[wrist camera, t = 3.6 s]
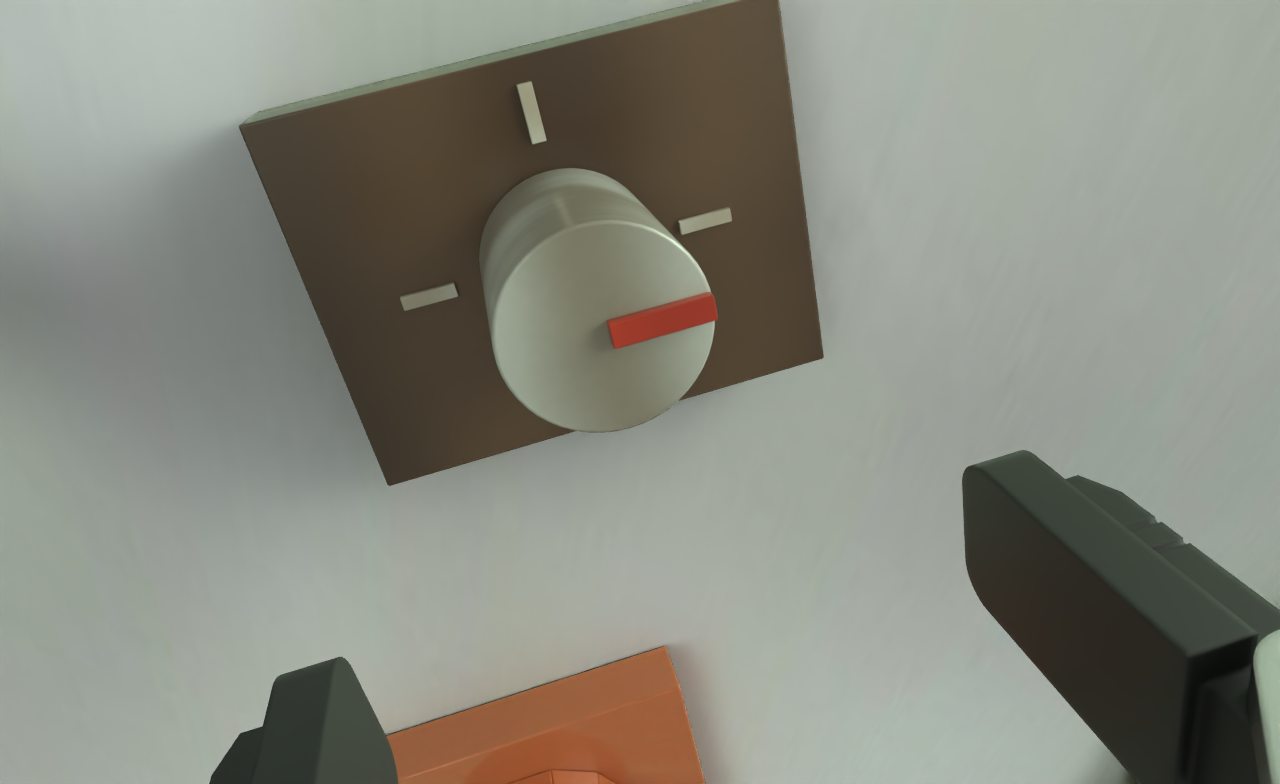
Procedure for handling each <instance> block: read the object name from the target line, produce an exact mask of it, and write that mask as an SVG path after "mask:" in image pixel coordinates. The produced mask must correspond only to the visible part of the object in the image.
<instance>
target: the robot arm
mask: <svg viewBox="0 0 1280 784" xmlns="http://www.w3.org/2000/svg"><path fill="white" fill-rule="evenodd" d="M962 489H963V512H964V536H965V558H966V566H967V570H968V574H969V577H970V580H971V583H972V585H973V588H974V590H975V592H976V594H977V596H978V597H979V599H980V601H981V602H982V604H983V605H984V606H985V608H986V609H987V610H988V611H989V612H990V614H991V615H992V616H993V617H994V618H995V619H996V621H997V622H998V623H999V624H1000V625H1001V626H1002V627H1003V629H1004V630H1005V631H1006V632H1007V633H1008V634H1009V635H1010V637H1011V638H1012V639H1013V640H1014V641H1015V642H1016V644H1017V645H1018V646H1019V647H1020V648H1021V649H1022V650H1023V652H1024V653H1025V654H1026V655H1027V656H1028V657H1029V658H1030V660H1031V661H1032V662H1033V663H1034V664H1035V665H1036V666H1037V668H1038V669H1039V670H1040V671H1041V672H1042V673H1043V675H1044V676H1045V677H1046V678H1047V679H1048V680H1049V681H1050V683H1051V684H1052V685H1053V686H1054V687H1055V688H1056V689H1057V691H1058V692H1059V693H1060V694H1061V695H1062V696H1063V698H1064V699H1065V700H1066V701H1067V702H1068V703H1069V704H1070V706H1071V707H1072V708H1073V709H1074V710H1075V711H1076V712H1077V714H1078V715H1079V716H1080V717H1081V718H1082V719H1083V721H1084V722H1085V723H1086V724H1087V725H1088V726H1089V727H1090V729H1091V730H1092V731H1093V732H1094V733H1095V734H1096V735H1097V737H1098V738H1099V739H1100V740H1101V741H1102V742H1103V743H1104V745H1105V746H1106V747H1107V748H1108V749H1109V750H1110V752H1111V753H1112V754H1113V755H1114V756H1115V757H1116V758H1117V760H1118V761H1119V762H1120V763H1121V764H1122V765H1123V766H1124V768H1125V769H1126V770H1127V771H1128V772H1129V773H1130V775H1131V776H1132V777H1133V778H1134V779H1135V780H1136V781H1137V783H1138V784H1280V610H1278V609H1277V608H1276V607H1274V606H1273V605H1272V604H1270V603H1269V602H1268V601H1266V600H1265V599H1264V598H1262V597H1261V596H1260V595H1258V594H1257V593H1256V592H1254V591H1253V590H1252V589H1250V588H1249V587H1248V586H1246V585H1245V584H1244V583H1242V582H1241V581H1240V580H1238V579H1237V578H1236V577H1234V576H1233V575H1232V574H1230V573H1229V572H1228V571H1226V570H1225V569H1224V568H1222V567H1221V566H1220V565H1218V564H1217V563H1216V562H1214V561H1213V560H1212V559H1210V558H1209V557H1208V556H1206V555H1205V554H1204V553H1202V552H1201V551H1200V550H1198V549H1197V548H1196V547H1194V546H1193V545H1192V544H1190V543H1189V544H1185V543H1184V541H1183V538H1182V537H1181V536H1180V535H1178V534H1177V533H1176V532H1174V531H1173V530H1172V529H1170V528H1169V527H1168V526H1166V525H1165V524H1164V523H1162V522H1160V523H1157V522H1156V520H1155V517H1154V516H1153V515H1152V514H1150V513H1149V512H1148V511H1146V510H1145V509H1144V508H1142V507H1141V506H1140V505H1138V504H1137V503H1135V502H1134V501H1133V500H1131V499H1130V498H1129V497H1127V496H1126V495H1125V494H1123V493H1122V492H1120V491H1118V490H1115V489H1112V488H1110V487H1107V486H1105V485H1102V484H1099V483H1097V482H1094V481H1092V480H1089V479H1086V478H1084V477H1081V476H1079V475H1077V476H1074V477H1071V478H1068V479H1064V478H1063V477H1062V476H1061V475H1059V474H1058V473H1057V472H1055V471H1054V470H1053V469H1052V468H1050V467H1049V466H1048V465H1047V464H1045V463H1044V462H1043V461H1042V460H1040V459H1039V458H1038V457H1037V456H1035V455H1034V454H1032V453H1031V452H1029V451H1025V450H1021V451H1017V452H1014V453H1011V454H1008V455H1004V456H1001V457H998V458H994V459H991V460H988V461H985V462H981V463H978V464H975V465H972V466H969V467H967V468H966V469H965V471H964V473H963V478H962ZM209 784H398V776H397V769H396V764H395V760H394V756H393V752H392V749H391V746H390V744H389V741H388V739H387V737H386V735H385V733H384V731H383V729H382V727H381V725H380V723H379V721H378V719H377V717H376V715H375V713H374V711H373V709H372V707H371V705H370V703H369V701H368V699H367V697H366V695H365V693H364V691H363V689H362V687H361V685H360V683H359V681H358V679H357V677H356V675H355V673H354V671H353V669H352V667H351V665H350V664H349V663H348V661H347V660H346V659H345V658H343V657H338V658H334V659H331V660H328V661H325V662H321V663H318V664H315V665H311V666H308V667H305V668H302V669H298V670H295V671H292V672H289V673H285V674H282V675H280V676H278V677H277V678H276V679H275V681H274V683H273V687H272V690H271V695H270V699H269V703H268V707H267V711H266V715H265V719H264V724H263V727H259V728H256V729H253V730H250V731H247V732H243V733H240V735H239V736H238V738H237V739H236V740H235V742H234V743H233V745H232V746H231V748H230V749H229V751H228V752H227V754H226V755H225V757H224V758H223V760H222V761H221V763H220V764H219V766H218V767H217V768H216V770H215V771H214V773H213V774H212V776H211V780H210V783H209Z"/></svg>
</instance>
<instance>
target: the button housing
mask: <svg viewBox="0 0 1280 784" xmlns="http://www.w3.org/2000/svg"><path fill="white" fill-rule="evenodd" d="M386 737H387V739H388V741H389V744H390V746H391V749H392V752H393V756H394V760H395V764H396V769H397V776H398V784H706V782H705V779H704V775H703V771H702V767H701V763H700V759H699V756H698V752H697V748H696V744H695V740H694V737H693V733H692V729H691V725H690V721H689V717H688V714H687V710H686V706H685V702H684V698H683V695H682V691H681V687H680V684H679V681H678V678H677V676H676V673H675V670H674V667H673V664H672V661H671V658H670V656H669V653H668V650H667V648H666V647H665V646H663V647H660V648H657V649H654V650H651V651H648V652H644V653H641V654H638V655H635V656H632V657H629V658H626V659H623V660H620V661H617V662H613V663H610V664H607V665H604V666H601V667H598V668H595V669H592V670H589V671H586V672H582V673H579V674H576V675H573V676H570V677H567V678H564V679H561V680H558V681H555V682H551V683H548V684H545V685H542V686H539V687H536V688H533V689H530V690H527V691H524V692H521V693H517V694H514V695H511V696H508V697H505V698H502V699H499V700H496V701H493V702H490V703H486V704H483V705H480V706H477V707H474V708H471V709H468V710H465V711H462V712H459V713H455V714H452V715H449V716H446V717H443V718H440V719H437V720H434V721H431V722H428V723H424V724H421V725H418V726H415V727H412V728H409V729H406V730H403V731H400V732H397V733H393V734H390V735H387V736H386Z"/></svg>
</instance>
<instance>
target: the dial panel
mask: <svg viewBox="0 0 1280 784" xmlns="http://www.w3.org/2000/svg"><path fill="white" fill-rule="evenodd" d="M239 129H240V131H241V134H242V136H243V139H244V141H245V143H246V146H247V148H248V151H249V153H250V155H251V158H252V160H253V163H254V165H255V167H256V170H257V172H258V175H259V177H260V179H261V182H262V184H263V187H264V189H265V191H266V194H267V196H268V199H269V201H270V203H271V206H272V208H273V211H274V213H275V215H276V218H277V220H278V223H279V225H280V227H281V230H282V232H283V235H284V237H285V239H286V242H287V244H288V247H289V249H290V251H291V254H292V256H293V259H294V261H295V263H296V266H297V268H298V271H299V273H300V275H301V278H302V280H303V283H304V285H305V287H306V290H307V292H308V295H309V297H310V299H311V302H312V304H313V307H314V309H315V312H316V314H317V316H318V319H319V321H320V324H321V326H322V328H323V331H324V333H325V336H326V338H327V340H328V343H329V345H330V348H331V350H332V352H333V355H334V357H335V360H336V362H337V364H338V367H339V369H340V372H341V374H342V376H343V379H344V381H345V384H346V386H347V388H348V391H349V393H350V396H351V398H352V400H353V403H354V405H355V408H356V410H357V412H358V415H359V417H360V420H361V422H362V424H363V427H364V429H365V432H366V434H367V436H368V439H369V441H370V444H371V446H372V448H373V451H374V453H375V456H376V458H377V460H378V463H379V465H380V468H381V470H382V472H383V475H384V477H385V480H386V482H387V484H388V485H389V486H391V485H394V484H398V483H401V482H404V481H408V480H411V479H415V478H418V477H421V476H425V475H428V474H432V473H435V472H438V471H442V470H445V469H449V468H452V467H455V466H459V465H462V464H466V463H469V462H472V461H476V460H479V459H482V458H486V457H489V456H493V455H496V454H499V453H503V452H506V451H510V450H513V449H516V448H520V447H523V446H527V445H530V444H533V443H537V442H540V441H544V440H547V439H550V438H554V437H557V436H561V435H564V434H567V433H571V432H574V431H575V430H571V429H567V428H563V427H560V426H558V425H555V424H552V423H550V422H548V421H546V420H544V419H542V418H541V417H539V416H537V415H536V414H534V413H533V412H531V411H530V410H529V409H527V408H526V407H525V406H524V405H523V404H522V403H521V402H520V401H519V400H518V399H517V398H516V397H515V396H514V394H513V393H512V392H511V391H510V389H509V388H508V386H507V385H506V383H505V381H504V380H503V378H502V376H501V374H500V371H499V369H498V366H497V364H496V360H495V356H494V352H493V348H492V341H491V335H490V329H489V322H488V316H487V310H486V304H485V297H484V291H483V285H482V279H481V272H480V263H479V252H480V243H481V238H482V234H483V231H484V228H485V225H486V223H487V221H488V219H489V217H490V214H491V213H492V211H493V210H494V208H495V207H496V205H497V204H498V203H499V202H500V200H501V199H502V198H503V197H504V196H505V195H506V194H507V193H508V192H509V191H510V190H512V189H513V188H514V187H515V186H517V185H518V184H520V183H521V182H523V181H524V180H526V179H528V178H530V177H532V176H534V175H537V174H540V173H543V172H546V171H550V170H555V169H564V168H577V169H585V170H590V171H595V172H598V173H600V174H603V175H606V176H608V177H610V178H612V179H614V180H615V181H617V182H618V183H620V184H621V185H623V186H624V187H626V188H627V189H628V190H629V191H630V192H631V193H632V194H633V195H634V196H635V197H636V198H637V199H638V200H639V201H640V202H641V203H642V204H643V205H644V206H645V207H646V208H647V209H648V210H649V212H650V213H651V214H652V215H653V216H654V217H655V218H656V219H657V220H658V221H659V222H660V223H661V224H662V225H663V226H664V227H665V228H666V229H667V230H668V231H669V232H670V233H671V234H672V236H673V237H674V238H675V239H676V240H677V241H678V242H679V243H680V244H681V245H682V246H683V247H684V248H685V249H686V250H687V251H688V252H689V253H690V255H691V256H692V257H693V258H694V260H695V261H696V262H697V263H698V265H699V267H700V268H701V270H702V272H703V273H704V275H705V277H706V280H707V282H708V285H709V287H710V291H711V293H712V294H713V296H714V299H715V305H716V310H717V316H718V320H716V321H715V327H714V335H713V341H712V345H711V348H710V352H709V355H708V357H707V360H706V362H705V364H704V367H703V369H702V371H701V372H700V374H699V376H698V377H697V379H696V381H695V382H694V383H693V384H692V386H691V387H690V388H689V390H688V391H687V392H686V393H685V394H684V395H683V396H682V397H681V398H680V399H679V400H683V399H686V398H690V397H693V396H696V395H700V394H703V393H707V392H710V391H713V390H717V389H720V388H724V387H727V386H730V385H734V384H737V383H740V382H744V381H747V380H751V379H754V378H757V377H761V376H764V375H768V374H771V373H774V372H778V371H781V370H785V369H788V368H791V367H795V366H798V365H802V364H805V363H808V362H812V361H815V360H819V359H822V358H823V357H824V356H823V348H822V340H821V332H820V324H819V316H818V308H817V300H816V292H815V284H814V276H813V268H812V260H811V252H810V244H809V236H808V228H807V220H806V212H805V204H804V196H803V188H802V180H801V172H800V164H799V156H798V148H797V140H796V132H795V124H794V116H793V108H792V100H791V92H790V84H789V76H788V68H787V59H786V51H785V43H784V35H783V27H782V19H781V11H780V3H779V0H706V1H702V2H698V3H694V4H690V5H686V6H682V7H678V8H674V9H670V10H666V11H662V12H658V13H653V14H649V15H645V16H641V17H637V18H633V19H629V20H625V21H621V22H617V23H613V24H609V25H605V26H601V27H597V28H593V29H589V30H585V31H581V32H577V33H573V34H569V35H565V36H561V37H557V38H553V39H549V40H545V41H541V42H537V43H533V44H529V45H525V46H521V47H517V48H513V49H509V50H505V51H501V52H497V53H492V54H488V55H484V56H480V57H476V58H472V59H468V60H464V61H460V62H456V63H452V64H448V65H444V66H440V67H436V68H432V69H428V70H424V71H420V72H416V73H412V74H408V75H404V76H400V77H396V78H392V79H388V80H384V81H380V82H376V83H372V84H368V85H364V86H360V87H356V88H352V89H348V90H344V91H340V92H336V93H331V94H327V95H323V96H319V97H315V98H311V99H307V100H303V101H299V102H295V103H291V104H287V105H283V106H279V107H275V108H271V109H267V110H263V111H259V112H258V113H257V114H255V115H254V116H252V117H251V118H249V119H248V120H247V121H245V122H244V123H242V124H241V125H240V126H239ZM679 400H678V401H679Z"/></svg>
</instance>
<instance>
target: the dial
mask: <svg viewBox="0 0 1280 784" xmlns="http://www.w3.org/2000/svg"><path fill="white" fill-rule="evenodd" d="M479 263H480V272H481V279H482V285H483V291H484V297H485V304H486V310H487V316H488V322H489V329H490V335H491V341H492V348H493V352H494V356H495V360H496V364H497V366H498V369H499V371H500V374H501V376H502V378H503V380H504V381H505V383H506V385H507V386H508V388H509V389H510V391H511V392H512V393H513V394H514V396H515V397H516V398H517V399H518V400H519V401H520V402H521V403H522V404H523V405H524V406H525V407H526V408H527V409H529V410H530V411H531V412H533V413H534V414H536V415H537V416H539V417H541V418H542V419H544V420H546V421H548V422H550V423H552V424H555V425H558V426H560V427H563V428H567V429H571V430H575V431H582V432H612V431H619V430H623V429H627V428H631V427H634V426H637V425H639V424H642V423H645V422H647V421H649V420H651V419H653V418H655V417H657V416H658V415H660V414H661V413H663V412H664V411H666V410H667V409H669V408H670V407H671V406H672V405H673V404H675V403H676V402H677V401H678V400H679V399H680V398H681V397H682V396H683V395H684V394H685V393H686V392H687V391H688V390H689V388H690V387H691V386H692V384H693V383H694V382H695V381H696V379H697V377H698V376H699V374H700V372H701V371H702V369H703V367H704V364H705V362H706V360H707V357H708V355H709V352H710V348H711V345H712V341H713V335H714V327H715V321H716V320H718V316H717V310H716V305H715V299H714V296H713V294H712V293H711V291H710V287H709V285H708V282H707V280H706V277H705V275H704V273H703V272H702V270H701V268H700V267H699V265H698V263H697V262H696V261H695V260H694V258H693V257H692V256H691V255H690V253H689V252H688V251H687V250H686V249H685V248H684V247H683V246H682V245H681V244H680V243H679V242H678V241H677V240H676V239H675V238H674V237H673V236H672V234H671V233H670V232H669V231H668V230H667V229H666V228H665V227H664V226H663V225H662V224H661V223H660V222H659V221H658V220H657V219H656V218H655V217H654V216H653V215H652V214H651V213H650V212H649V210H648V209H647V208H646V207H645V206H644V205H643V204H642V203H641V202H640V201H639V200H638V199H637V198H636V197H635V196H634V195H633V194H632V193H631V192H630V191H629V190H628V189H627V188H626V187H624V186H623V185H621V184H620V183H618V182H617V181H615V180H614V179H612V178H610V177H608V176H606V175H603V174H600V173H598V172H595V171H590V170H585V169H577V168H564V169H555V170H550V171H546V172H543V173H540V174H537V175H534V176H532V177H530V178H528V179H526V180H524V181H523V182H521V183H520V184H518V185H517V186H515V187H514V188H513V189H512V190H510V191H509V192H508V193H507V194H506V195H505V196H504V197H503V198H502V199H501V200H500V202H499V203H498V204H497V205H496V207H495V208H494V210H493V211H492V213H491V214H490V217H489V219H488V221H487V223H486V225H485V228H484V231H483V234H482V238H481V243H480V252H479Z"/></svg>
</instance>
